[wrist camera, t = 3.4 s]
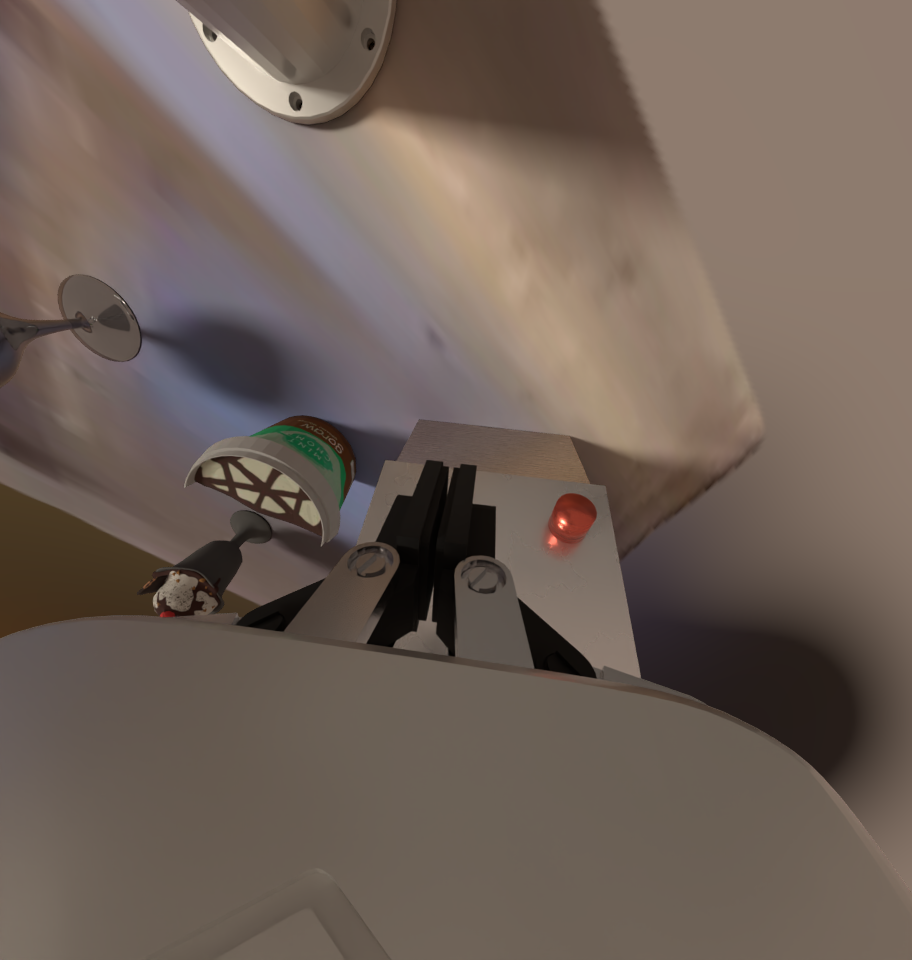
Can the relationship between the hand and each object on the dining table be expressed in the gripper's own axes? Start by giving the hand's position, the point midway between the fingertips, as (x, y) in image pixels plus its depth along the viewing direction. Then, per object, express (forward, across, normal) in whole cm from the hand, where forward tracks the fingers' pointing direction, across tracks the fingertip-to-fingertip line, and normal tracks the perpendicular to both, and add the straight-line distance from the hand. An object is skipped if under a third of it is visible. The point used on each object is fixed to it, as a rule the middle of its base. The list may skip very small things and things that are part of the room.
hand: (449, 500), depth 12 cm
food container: (+21, +15, +8) cm, 27 cm away
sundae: (+21, +25, +22) cm, 39 cm away
